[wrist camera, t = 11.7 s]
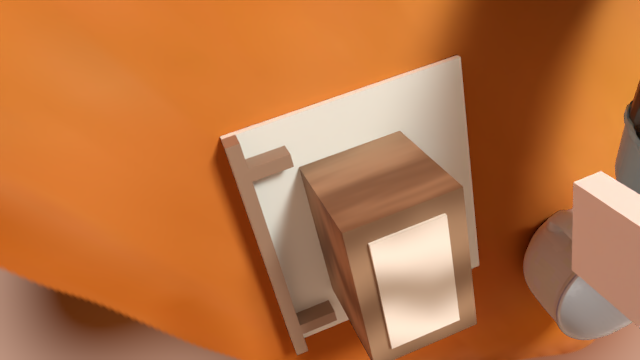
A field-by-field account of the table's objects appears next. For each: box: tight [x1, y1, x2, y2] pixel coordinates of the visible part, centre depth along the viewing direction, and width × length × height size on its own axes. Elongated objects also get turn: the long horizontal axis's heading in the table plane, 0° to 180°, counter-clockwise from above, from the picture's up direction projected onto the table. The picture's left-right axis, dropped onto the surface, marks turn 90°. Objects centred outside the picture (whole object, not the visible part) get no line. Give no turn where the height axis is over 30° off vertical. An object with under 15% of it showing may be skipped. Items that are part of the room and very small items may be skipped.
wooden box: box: [299, 131, 477, 360], centre depth 41 cm, size 12×8×9 cm, turn 13°
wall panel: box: [220, 55, 479, 355], centre depth 45 cm, size 18×20×2 cm
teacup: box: [523, 208, 632, 340], centre depth 50 cm, size 14×11×8 cm
